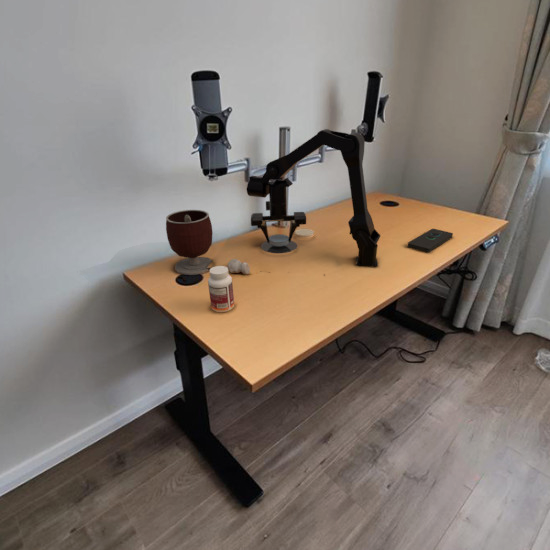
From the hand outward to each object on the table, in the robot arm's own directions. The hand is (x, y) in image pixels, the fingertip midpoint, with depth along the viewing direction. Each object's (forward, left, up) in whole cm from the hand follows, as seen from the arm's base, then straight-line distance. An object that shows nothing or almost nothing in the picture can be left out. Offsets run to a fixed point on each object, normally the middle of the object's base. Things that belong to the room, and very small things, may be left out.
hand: (278, 242), depth 130 cm
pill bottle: (-40, +9, -3) cm, 41 cm away
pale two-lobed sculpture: (-20, +10, -3) cm, 23 cm away
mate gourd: (-18, +25, -3) cm, 31 cm away
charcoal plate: (0, 0, -3) cm, 3 cm away
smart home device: (+12, -54, -3) cm, 55 cm away
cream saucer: (+12, -8, -3) cm, 15 cm away
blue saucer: (0, 0, -1) cm, 1 cm away
